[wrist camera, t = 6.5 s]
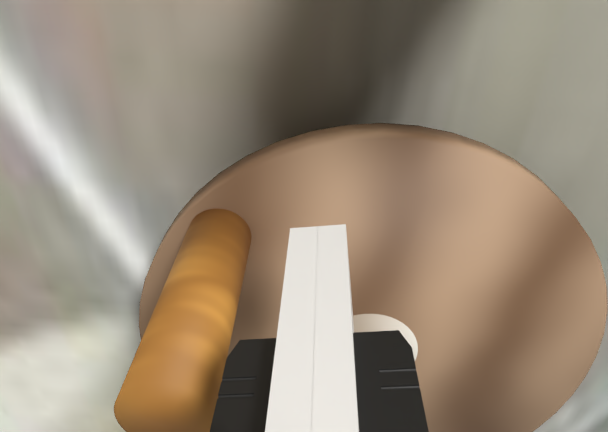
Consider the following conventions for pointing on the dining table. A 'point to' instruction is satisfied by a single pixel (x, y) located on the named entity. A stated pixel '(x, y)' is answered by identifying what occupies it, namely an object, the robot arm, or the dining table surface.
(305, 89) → the dining table surface
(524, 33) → the dining table surface
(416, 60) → the dining table surface
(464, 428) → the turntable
